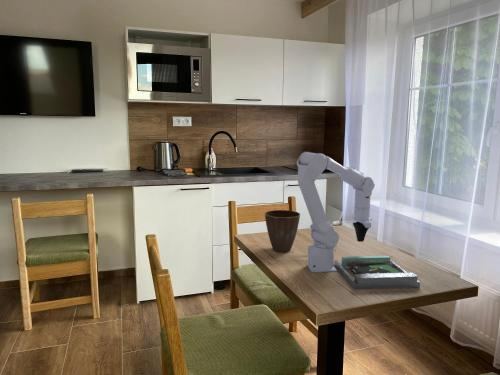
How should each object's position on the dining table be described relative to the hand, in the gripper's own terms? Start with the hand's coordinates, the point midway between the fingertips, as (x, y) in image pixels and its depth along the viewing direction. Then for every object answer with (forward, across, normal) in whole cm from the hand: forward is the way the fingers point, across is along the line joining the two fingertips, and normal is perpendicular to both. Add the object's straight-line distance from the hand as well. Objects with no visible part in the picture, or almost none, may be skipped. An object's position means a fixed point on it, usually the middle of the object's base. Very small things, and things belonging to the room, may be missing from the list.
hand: (360, 241), depth 155 cm
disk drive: (+9, -14, -1) cm, 17 cm away
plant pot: (+9, +17, +28) cm, 34 cm away
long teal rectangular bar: (+8, -7, 0) cm, 11 cm away
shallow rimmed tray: (+8, -15, 0) cm, 17 cm away
